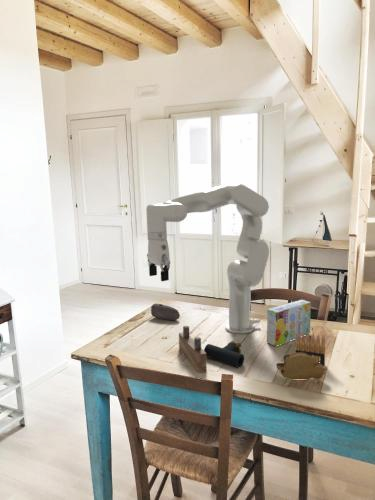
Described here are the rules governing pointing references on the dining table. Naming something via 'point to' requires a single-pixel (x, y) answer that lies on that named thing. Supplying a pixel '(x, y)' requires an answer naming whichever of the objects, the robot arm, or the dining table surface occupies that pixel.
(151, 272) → the robot arm
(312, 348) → the ammunition clip
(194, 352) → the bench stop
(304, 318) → the snack box
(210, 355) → the pipe connector
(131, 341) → the dining table surface
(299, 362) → the wooden carving
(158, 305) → the perforated stone tool
